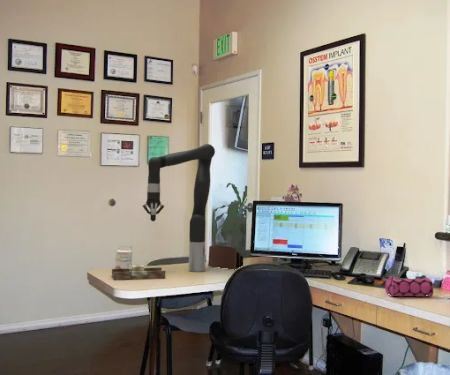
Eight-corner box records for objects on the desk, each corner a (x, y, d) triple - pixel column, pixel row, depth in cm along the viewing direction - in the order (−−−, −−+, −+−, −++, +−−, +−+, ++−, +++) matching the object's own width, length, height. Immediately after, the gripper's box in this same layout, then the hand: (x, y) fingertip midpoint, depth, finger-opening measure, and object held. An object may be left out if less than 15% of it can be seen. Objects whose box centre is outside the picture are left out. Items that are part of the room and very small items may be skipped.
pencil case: (393, 299, 228) (393, 277, 228) (383, 294, 238) (384, 274, 238) (435, 299, 231) (436, 277, 231) (424, 294, 241) (425, 274, 241)
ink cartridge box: (114, 271, 281) (115, 245, 281) (117, 270, 286) (118, 244, 286) (129, 272, 280) (130, 246, 280) (131, 270, 285) (132, 245, 285)
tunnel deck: (160, 274, 275) (161, 267, 275) (165, 278, 264) (165, 271, 264) (111, 276, 267) (112, 268, 267) (114, 280, 255) (114, 272, 255)
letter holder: (235, 270, 296) (236, 247, 296) (207, 267, 306) (208, 244, 306) (243, 268, 304) (244, 245, 304) (216, 265, 315) (216, 243, 315)
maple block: (142, 272, 269) (143, 264, 269) (144, 274, 264) (144, 266, 264) (131, 272, 268) (132, 265, 268) (132, 274, 262) (133, 266, 262)
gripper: (163, 191, 292) (162, 220, 292) (141, 191, 287) (140, 220, 287) (166, 191, 285) (165, 221, 285) (143, 191, 280) (142, 221, 280)
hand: (152, 221), depth 286 cm, fingers closed
